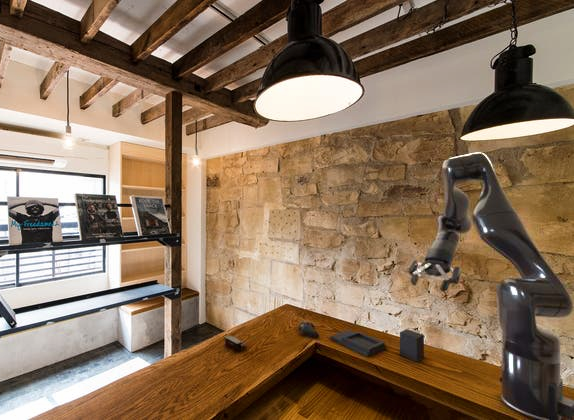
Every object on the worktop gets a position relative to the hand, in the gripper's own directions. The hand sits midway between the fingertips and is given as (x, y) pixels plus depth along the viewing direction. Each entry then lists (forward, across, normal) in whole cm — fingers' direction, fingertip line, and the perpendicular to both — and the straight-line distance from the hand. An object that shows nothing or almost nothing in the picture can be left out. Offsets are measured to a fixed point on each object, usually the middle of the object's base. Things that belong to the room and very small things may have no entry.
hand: (427, 287), depth 96 cm
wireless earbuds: (+60, -33, -28) cm, 74 cm away
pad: (+30, -14, +2) cm, 33 cm away
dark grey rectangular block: (+24, 0, +8) cm, 25 cm away
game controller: (+36, -29, -4) cm, 47 cm away
